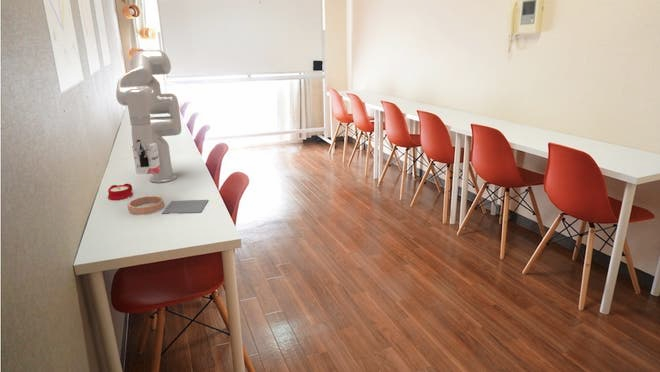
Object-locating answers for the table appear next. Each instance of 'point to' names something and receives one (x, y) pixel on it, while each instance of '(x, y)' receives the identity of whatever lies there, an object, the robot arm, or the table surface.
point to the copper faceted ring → (147, 209)
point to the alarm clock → (120, 192)
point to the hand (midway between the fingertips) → (147, 164)
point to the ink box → (152, 159)
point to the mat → (185, 206)
